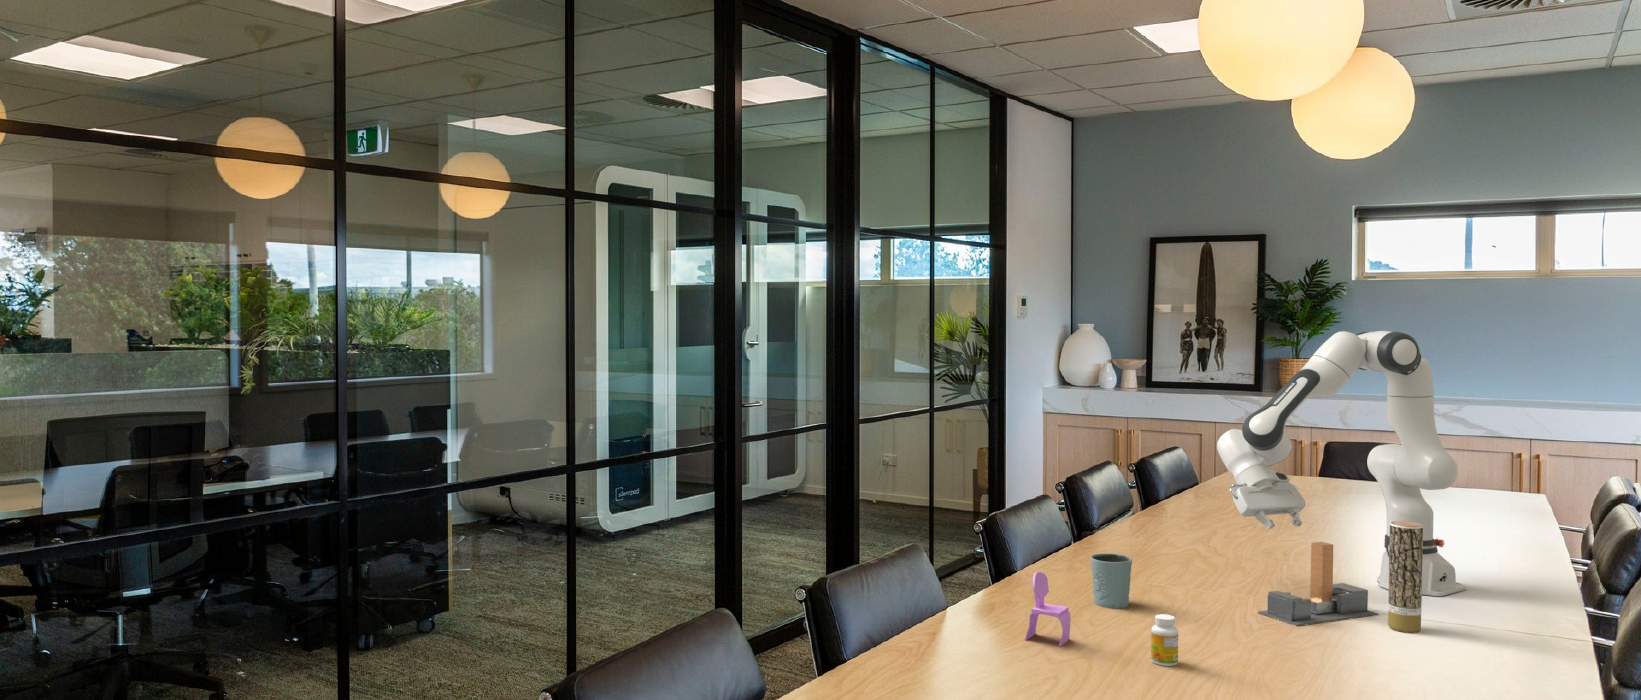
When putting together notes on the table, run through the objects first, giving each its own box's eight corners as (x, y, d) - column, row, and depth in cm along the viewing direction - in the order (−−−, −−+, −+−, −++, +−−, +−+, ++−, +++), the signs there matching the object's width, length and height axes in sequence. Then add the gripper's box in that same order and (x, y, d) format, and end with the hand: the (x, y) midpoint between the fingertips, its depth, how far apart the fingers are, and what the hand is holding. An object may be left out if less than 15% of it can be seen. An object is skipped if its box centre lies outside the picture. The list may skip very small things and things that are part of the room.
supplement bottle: (1146, 658, 219) (1147, 613, 219) (1171, 658, 220) (1171, 612, 219) (1157, 666, 214) (1157, 620, 214) (1182, 666, 214) (1182, 620, 214)
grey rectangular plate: (1337, 602, 265) (1337, 601, 265) (1378, 614, 254) (1378, 613, 254) (1257, 613, 255) (1257, 611, 255) (1296, 626, 244) (1296, 624, 244)
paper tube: (1425, 634, 238) (1427, 527, 238) (1393, 632, 240) (1395, 525, 239) (1414, 626, 245) (1416, 521, 244) (1383, 624, 246) (1385, 520, 246)
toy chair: (1060, 648, 226) (1061, 580, 226) (1022, 641, 231) (1023, 575, 230) (1072, 638, 233) (1073, 573, 233) (1035, 632, 238) (1036, 568, 237)
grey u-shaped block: (1342, 603, 263) (1342, 582, 263) (1367, 611, 256) (1367, 589, 256) (1316, 607, 259) (1316, 586, 259) (1341, 614, 253) (1341, 593, 252)
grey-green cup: (1134, 601, 265) (1134, 555, 265) (1128, 611, 256) (1128, 563, 256) (1094, 597, 269) (1094, 551, 269) (1087, 606, 260) (1087, 559, 260)
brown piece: (1348, 604, 261) (1349, 538, 261) (1360, 608, 258) (1362, 541, 257) (1304, 610, 255) (1305, 543, 255) (1316, 614, 252) (1317, 546, 252)
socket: (1286, 611, 256) (1286, 589, 256) (1310, 619, 249) (1311, 596, 249) (1267, 613, 253) (1267, 591, 253) (1291, 621, 246) (1291, 599, 246)
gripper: (1233, 477, 268) (1261, 521, 259) (1292, 474, 276) (1321, 516, 267) (1220, 492, 272) (1247, 536, 264) (1278, 488, 280) (1307, 530, 271)
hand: (1285, 526), depth 265 cm, fingers open, 8 cm apart
